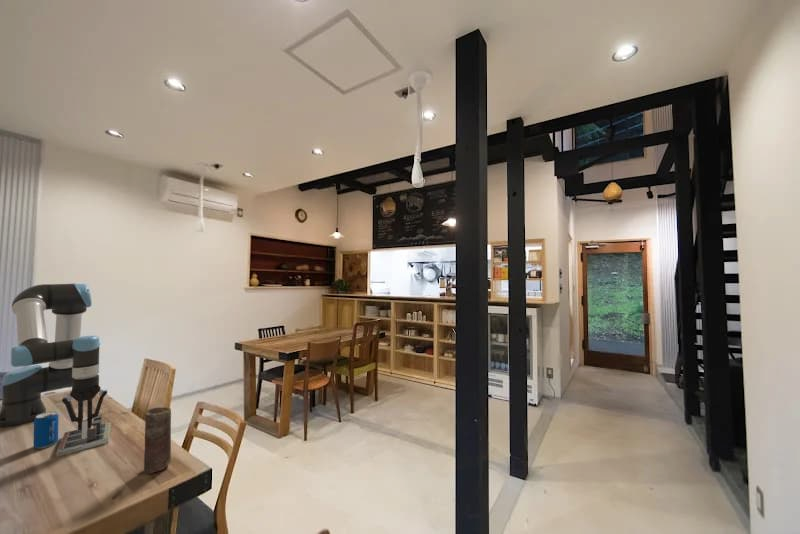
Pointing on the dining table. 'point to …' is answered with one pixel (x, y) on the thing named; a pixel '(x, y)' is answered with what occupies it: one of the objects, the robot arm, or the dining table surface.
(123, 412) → the dining table surface
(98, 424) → the block
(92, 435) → the breaker
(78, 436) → the panel
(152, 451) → the candle
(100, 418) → the breaker
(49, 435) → the beverage can
